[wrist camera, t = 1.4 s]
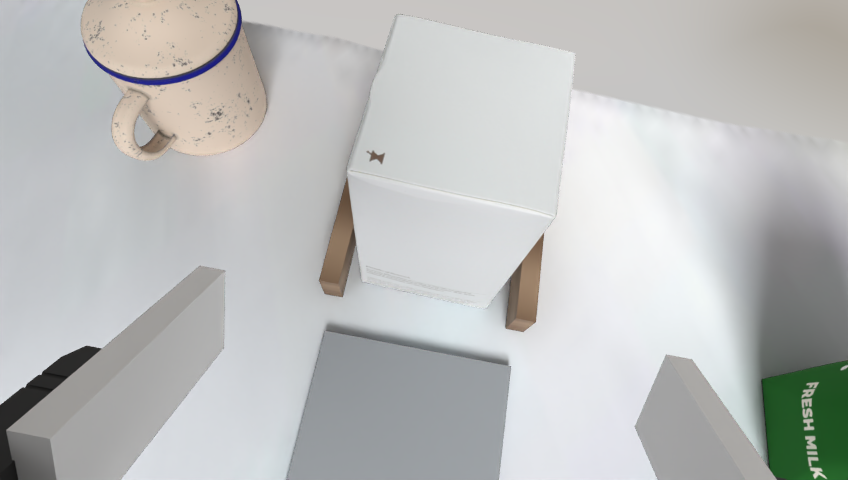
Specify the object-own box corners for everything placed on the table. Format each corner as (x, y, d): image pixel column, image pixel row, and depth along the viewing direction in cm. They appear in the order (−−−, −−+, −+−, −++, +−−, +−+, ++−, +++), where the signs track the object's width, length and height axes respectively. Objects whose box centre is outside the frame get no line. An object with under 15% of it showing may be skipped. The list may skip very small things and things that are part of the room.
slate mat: (326, 332, 32) (325, 330, 31) (508, 367, 32) (511, 366, 31) (271, 545, 27) (269, 547, 27) (485, 586, 27) (487, 589, 27)
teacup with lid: (183, 48, 40) (106, -98, 29) (290, 80, 39) (252, -56, 28) (101, 172, 35) (-25, 54, 24) (221, 211, 35) (146, 107, 24)
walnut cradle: (365, 140, 38) (363, 116, 35) (539, 173, 37) (551, 152, 35) (324, 293, 33) (319, 280, 30) (523, 331, 33) (535, 321, 30)
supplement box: (488, 313, 33) (561, 224, 19) (358, 283, 33) (337, 172, 20) (509, 196, 37) (583, 48, 23) (391, 169, 37) (393, 6, 23)
